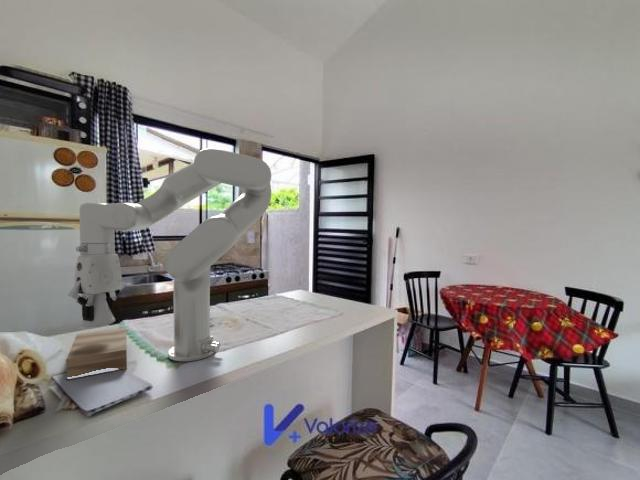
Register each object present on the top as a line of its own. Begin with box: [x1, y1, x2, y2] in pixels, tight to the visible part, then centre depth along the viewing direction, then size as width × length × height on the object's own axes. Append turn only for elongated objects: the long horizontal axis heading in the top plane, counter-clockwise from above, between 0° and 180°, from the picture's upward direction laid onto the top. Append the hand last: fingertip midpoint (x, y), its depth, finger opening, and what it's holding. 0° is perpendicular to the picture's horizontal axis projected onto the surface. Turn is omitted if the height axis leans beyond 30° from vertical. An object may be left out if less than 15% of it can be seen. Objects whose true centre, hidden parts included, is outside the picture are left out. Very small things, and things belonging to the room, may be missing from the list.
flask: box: [80, 293, 117, 328], centre depth 86 cm, size 7×7×10 cm
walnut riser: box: [65, 326, 128, 378], centre depth 86 cm, size 20×12×5 cm, turn 31°
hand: (98, 316), depth 86 cm, fingers closed on flask, 4 cm apart
